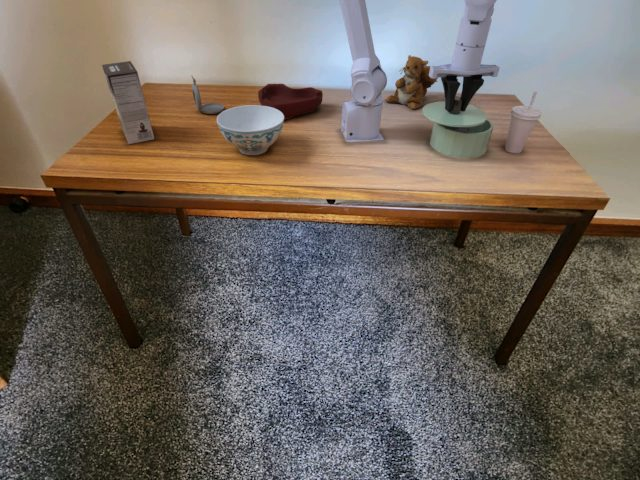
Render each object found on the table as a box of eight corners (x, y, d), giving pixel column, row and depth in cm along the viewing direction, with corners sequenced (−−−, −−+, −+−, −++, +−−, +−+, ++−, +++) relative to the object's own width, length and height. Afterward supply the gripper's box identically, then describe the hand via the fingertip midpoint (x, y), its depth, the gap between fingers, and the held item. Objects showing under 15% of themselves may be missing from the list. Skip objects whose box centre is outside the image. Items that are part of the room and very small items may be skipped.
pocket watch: (229, 109, 113) (224, 73, 106) (207, 119, 107) (201, 81, 101) (208, 103, 116) (202, 67, 110) (186, 112, 110) (178, 75, 104)
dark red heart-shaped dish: (245, 118, 108) (243, 99, 105) (269, 98, 120) (268, 81, 117) (307, 127, 104) (306, 108, 101) (325, 106, 116) (326, 88, 113)
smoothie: (514, 158, 93) (535, 98, 84) (493, 147, 97) (511, 88, 88) (532, 152, 95) (555, 93, 86) (511, 142, 99) (531, 84, 91)
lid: (466, 135, 82) (471, 115, 79) (409, 116, 89) (412, 97, 87) (496, 117, 90) (502, 98, 87) (442, 101, 97) (445, 83, 95)
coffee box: (121, 130, 100) (100, 63, 90) (147, 126, 103) (130, 60, 93) (128, 145, 94) (106, 75, 84) (156, 139, 97) (138, 70, 87)
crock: (442, 161, 91) (448, 135, 87) (421, 136, 101) (426, 112, 97) (495, 158, 92) (504, 132, 88) (470, 134, 103) (476, 110, 99)
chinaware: (268, 169, 87) (266, 135, 82) (208, 156, 90) (203, 124, 85) (295, 141, 98) (294, 110, 93) (241, 131, 101) (237, 101, 96)
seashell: (449, 140, 102) (458, 159, 94) (440, 124, 99) (448, 142, 91) (469, 128, 99) (479, 147, 92) (460, 111, 97) (470, 130, 89)
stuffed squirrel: (383, 102, 119) (388, 55, 111) (411, 92, 127) (419, 47, 118) (410, 112, 114) (418, 63, 105) (438, 100, 121) (447, 54, 113)
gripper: (494, 38, 84) (477, 102, 93) (429, 39, 82) (418, 104, 91) (511, 47, 79) (491, 114, 87) (441, 48, 77) (428, 116, 86)
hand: (454, 110), depth 89 cm, fingers closed on lid, 2 cm apart
